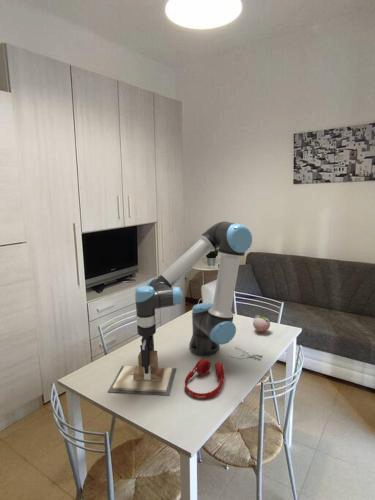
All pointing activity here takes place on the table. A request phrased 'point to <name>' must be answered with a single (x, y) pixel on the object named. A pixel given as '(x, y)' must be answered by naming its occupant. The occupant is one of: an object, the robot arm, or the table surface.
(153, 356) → the stepped wooden block
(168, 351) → the table surface
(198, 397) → the headphones
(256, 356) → the pliers
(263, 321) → the decorative fruit
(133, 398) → the table surface
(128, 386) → the board
